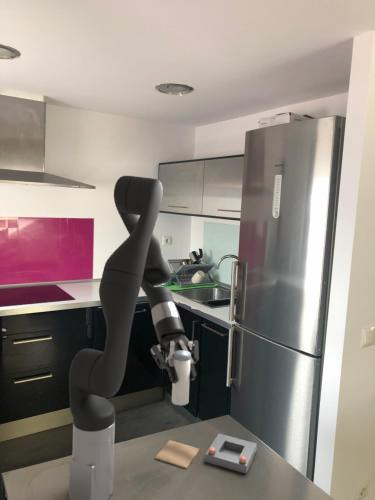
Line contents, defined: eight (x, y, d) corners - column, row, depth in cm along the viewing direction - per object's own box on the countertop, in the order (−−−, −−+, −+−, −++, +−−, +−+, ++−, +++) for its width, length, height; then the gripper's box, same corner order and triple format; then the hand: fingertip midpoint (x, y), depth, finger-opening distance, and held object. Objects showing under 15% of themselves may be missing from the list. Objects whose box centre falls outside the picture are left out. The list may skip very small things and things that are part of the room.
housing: (246, 476, 101) (246, 462, 101) (204, 463, 105) (205, 450, 105) (256, 452, 111) (257, 440, 111) (218, 442, 115) (219, 430, 115)
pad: (186, 471, 102) (186, 467, 102) (154, 461, 105) (155, 457, 105) (199, 452, 110) (199, 448, 110) (169, 443, 113) (169, 440, 113)
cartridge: (184, 406, 103) (186, 357, 102) (168, 402, 105) (171, 354, 104) (191, 399, 107) (193, 352, 106) (176, 396, 109) (178, 349, 108)
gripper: (147, 317, 107) (163, 379, 98) (194, 313, 114) (214, 370, 104) (139, 331, 113) (154, 391, 103) (185, 326, 119) (203, 382, 110)
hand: (184, 380), depth 104 cm, fingers closed on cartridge, 4 cm apart
